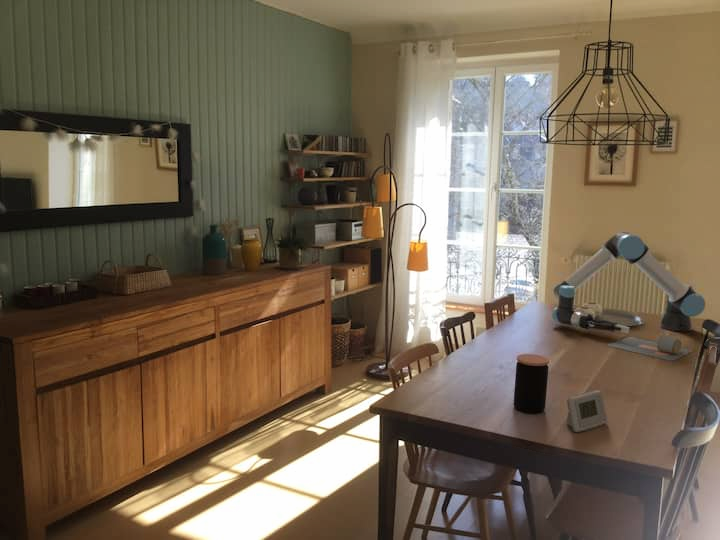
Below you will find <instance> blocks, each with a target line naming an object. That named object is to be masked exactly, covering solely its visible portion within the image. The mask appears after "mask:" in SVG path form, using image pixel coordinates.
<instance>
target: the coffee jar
mask: <svg viewBox="0 0 720 540" xmlns="http://www.w3.org/2000/svg"><path fill="white" fill-rule="evenodd" d="M516 360H517V362H516V365H515V378H514V379H515V380H514V390H513V391H514V392H513V393H514V394H513V404H512V405H513V406H514V408H515V409H516V411H518V412H521V413H524V414H529V415H537V414H541V413H543V412H544V410H546V401H547V391H548V388H547V387H548V379H549V378H548V377H549V363H550V359H549V358H548V357H546V356H543V355H540V354H534V353H521V354H519V355H517V356H516Z"/></svg>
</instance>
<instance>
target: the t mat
mask: <svg viewBox="0 0 720 540" xmlns="http://www.w3.org/2000/svg"><path fill="white" fill-rule="evenodd" d="M638 344H639V345H638ZM606 346H607V347H611V348H616V349H620V350H622V351H623V350H624V351H627V350H628V352H631V351H632V352H631V353H635V352H636V354H640V355H645V356H648V355H649V356H648V357H652V356H653V357H652V358H656V357H657V359H660V358H661V360H664V359H665V361H669V362H674V361H676V360H679V359H681V358H683V357H684V355H685V356H687V355H689V354H691V353H694V352H693V351H694V350H690V349H685V348H682V347H681V349H680V351H679V352H678V353H677V354H671V353H667V352H664V351H660V350H658V349H657V342H653V341H650V340H645V339H641V338H636V337H633V336H627V337H625V338H623V339H620V340H617V341H614V342H612V343H609V344H606ZM688 353H689V354H688ZM682 356H683V357H682ZM680 357H681V358H680ZM673 360H674V361H673Z"/></svg>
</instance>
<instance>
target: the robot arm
mask: <svg viewBox="0 0 720 540" xmlns="http://www.w3.org/2000/svg"><path fill="white" fill-rule="evenodd" d="M620 256H621V258H623V259H625V260H626V261H627V263H629V264H630V265H635V266H636V267H637V268H639V270H641V272H643V273H644V274H645V275H646V276H647V277H648V278H649V279H650V280H651V281H652V282H653V283H655V285H657V286H658V288H659V289H660V290H661V291H663V292H664V293H665V294H666V300H665V310H664V314H663V316H662V317H661V320H660V322H659V327H660V328H661V329H664V330H668V331H673V332H681V333H683V332H685V333H686V332H691V331H692V330H693V324H692V319H691V317H697V316H699V315H701V314H702V313H703V312H704V311H705V308H706V300H705V298H704V297H703V296H702V295H701V294H699V293H697V292H696V291H695V290H694V287H693V286H692V285H689V284H686V283H685V284H683V283H682V282H680V280H679V279H678V278H676V277H675V276H674V275H673V274H672V273H671V272H670V271H669V270H668V269H667V268H666V267H665V266H664V265H663V264H661V262H660V261H659V260H658V259H657V258H655V256H653V255H652V254H651V253H650V248H649V247H648V246H647V244H645V243H644V241H643V239H642V238H641V237H639V236H638V235H636V234H633V233H630V232H627V231H620V232H617V233H615V234H614V235H612V236H611V237H610V238H608V240H606V242H605V243H603V244H601V248H600V249H599V250H598V251H597V252H596V253H595V254H594V255H593V256H591V257H589V259H588V260H586V262H585V263H583V264H582V265H581V266H579V268H577V269H576V270H575V271H574V272H573V273H571V275H569V276H568V277H567V278H566V279H565V280H564V281H562V282H561V283H558V284H556V285H554V287H553V290H552V292H553V295H554V297H555V298H556V299H558V305H557V307H555V308H553V310H552V313H551V319H552V320H553V321H554V322H555V323H559V324H563V325H567V326H572V327H575V328H576V329H577V328H580V329H586V330H589V329H597V330H602V331H603V330H604V331H609V332H610V331H611V332H612V333H614V331H615V332H619V333H624V334H629V333H630V327H629V326H625V325H621V324H620V325H619V324H618V323H617V322H612V321H609V320H605V319H604V318H602V319H599V318H594V317H593V314H590V313H586V312H585V313H584V312H582V311H576V310H574V304H575V297H576V290H577V289H578V288H580V287H581V286H582V285H583V284H585V283H586V282H587V281H588V280H590V279H591V278H592V277H593V276H595V274H597V273H598V272H599V271H600V270H601V269H603V268H604V267H605V266H606V265H608V263H610V262H611V261H612V260H617V258H619V257H620Z"/></svg>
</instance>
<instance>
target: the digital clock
mask: <svg viewBox="0 0 720 540" xmlns="http://www.w3.org/2000/svg"><path fill="white" fill-rule="evenodd" d="M604 400H605V399H604V396H603V392H602V391H601V390H599V389H596V390H594V391H593V390H591V391H586V392H584V393H579V394H576V395H574V396H570V397H568V398H567V399H566V404H567V409H568V412H567V418H566V419H567V420H566V426H569V427H571V428H572V430H573V432H575V433H580V432H584V431H588V430H591V429H595V428H598V427H601V426H602V425H605V424H607V422H608V415H607V411H606V406H605V401H604Z"/></svg>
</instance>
